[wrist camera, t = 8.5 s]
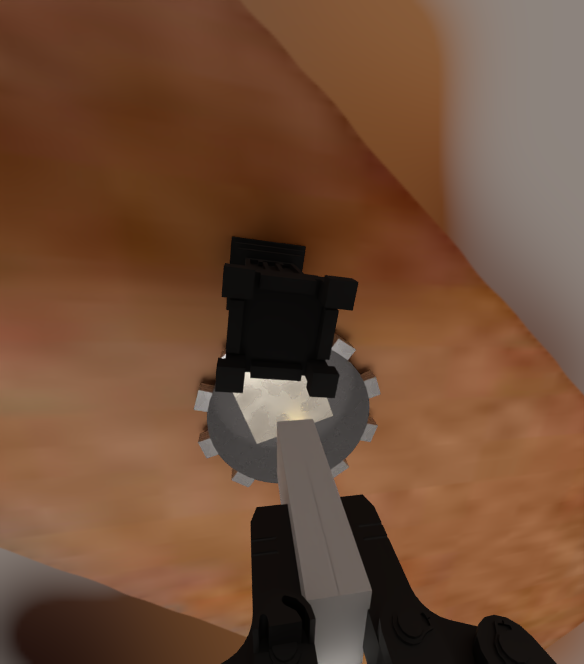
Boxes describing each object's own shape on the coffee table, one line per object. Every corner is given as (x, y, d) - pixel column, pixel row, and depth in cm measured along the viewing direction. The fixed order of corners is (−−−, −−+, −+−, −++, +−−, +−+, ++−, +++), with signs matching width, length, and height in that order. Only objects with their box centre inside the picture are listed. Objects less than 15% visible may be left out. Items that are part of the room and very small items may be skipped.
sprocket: (237, 502, 45) (235, 595, 34) (163, 366, 37) (128, 429, 26) (391, 444, 46) (438, 518, 34) (350, 297, 38) (394, 331, 26)
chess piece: (232, 236, 35) (216, 257, 16) (304, 246, 36) (366, 275, 18) (226, 308, 37) (207, 397, 19) (294, 314, 39) (339, 404, 20)
